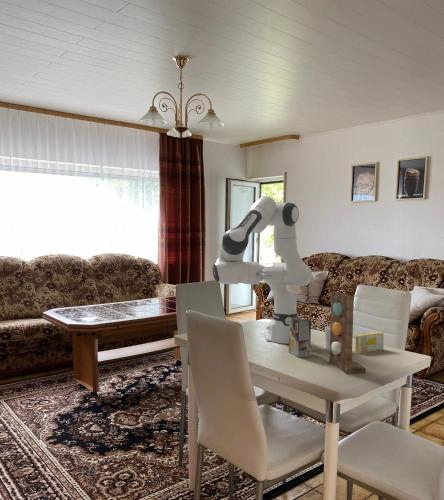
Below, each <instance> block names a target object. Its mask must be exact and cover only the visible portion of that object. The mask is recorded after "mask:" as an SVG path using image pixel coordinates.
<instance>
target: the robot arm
mask: <svg viewBox="0 0 444 500" xmlns="http://www.w3.org/2000/svg"><path fill="white" fill-rule="evenodd" d="M299 211H300V210H299V207H298V206H297V205H296V203H292V202H285V201H284V202H282V201H275V199H273V198H272V197H271V196H268V195H266V196H265V195H264V196H261V197H259V198H258V199H257V200H256V201H254V202H253V204H251V206H250V207H249V208H248V209H247V211H246V212H245V215H244V216H243V217H242V219H240V221H239V222H238V223H237V225H235V226H234V227H232V228H230V229H228V230H227V231H225V233H224V234H223V236H222V242H221V246H220V251H219V255H218V258H217V260H216V262H214V263H213V265H212V276H213V278H214V280H215V282H217V283H219V284H225V285H238V284H245V285H259V284H260V282H262V281H264V282H265V283H266V284H267V285H268V286H269V288H270V290H271V292H272V294H273V301H274V302H273V303H274V307H273V310H274V311H273V314H272V320H271V321H270V323H269V324H268V325H266V326H265V327H266V331H265V332H264V334H263V335H264V337H265V341H267V342H273V343H278V344H286V345H287V344H288V345H289V320H290V317H298V312H297V303H298V302H297V301H298V300H297V297H296V295H295V294H294V293H292V292H290V291H289V289H288V287H287V286H294V287H301V286H308V285H309V284H310V283H311V281H312V280H313V279H312V278H313V271H312V269H311V267H310V266H309V265H308V264H306V263H305V262H304V261H303V259H302V258H301V256H300V253H299V251H298V245H297V229H296V223H297V221H298V219H299V216H300V215H299V214H300V213H299ZM268 226H271V227H273V250H274V253H275V254H276V255H277V256H278V257H280V258H281V259H282V260H283V261H284V262H270V263H266V264H264V265H262V264H260V262H259V261H244V259H243V258H244V255H245V252H246V250H247V248H248V245H249V239H250V235H251V234H252V233H254V234H260V233H262V232H263V231H264V230H265V229H266V228H267V227H268Z"/></svg>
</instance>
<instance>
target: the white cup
mask: <svg viewBox="0 0 444 500" xmlns="http://www.w3.org/2000/svg"><path fill="white" fill-rule="evenodd" d="M324 336H325V350H326V351H330V326H325V335H324Z"/></svg>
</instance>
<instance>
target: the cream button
mask: <svg viewBox="0 0 444 500" xmlns="http://www.w3.org/2000/svg"><path fill="white" fill-rule="evenodd" d="M331 350H332V353H333V354H341V342H332V345H331Z"/></svg>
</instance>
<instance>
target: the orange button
mask: <svg viewBox="0 0 444 500" xmlns="http://www.w3.org/2000/svg"><path fill="white" fill-rule="evenodd" d="M332 332H333V334H334V335H342V323H341V322H334V323H333V324H332Z"/></svg>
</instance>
